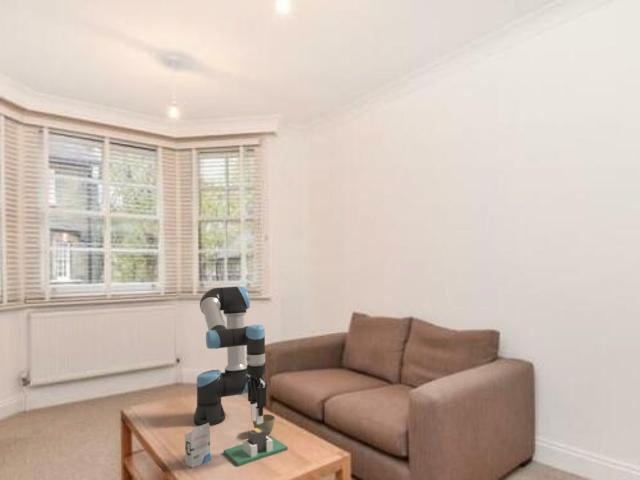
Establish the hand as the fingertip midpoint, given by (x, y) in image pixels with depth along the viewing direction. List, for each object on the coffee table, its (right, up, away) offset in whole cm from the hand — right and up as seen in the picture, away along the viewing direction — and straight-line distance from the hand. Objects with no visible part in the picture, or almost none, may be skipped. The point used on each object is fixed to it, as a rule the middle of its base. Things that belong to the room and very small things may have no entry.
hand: (257, 421), depth 175 cm
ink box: (-22, -13, -7) cm, 27 cm away
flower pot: (0, -14, +18) cm, 23 cm away
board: (-1, -13, +1) cm, 13 cm away
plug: (0, -11, -1) cm, 11 cm away
